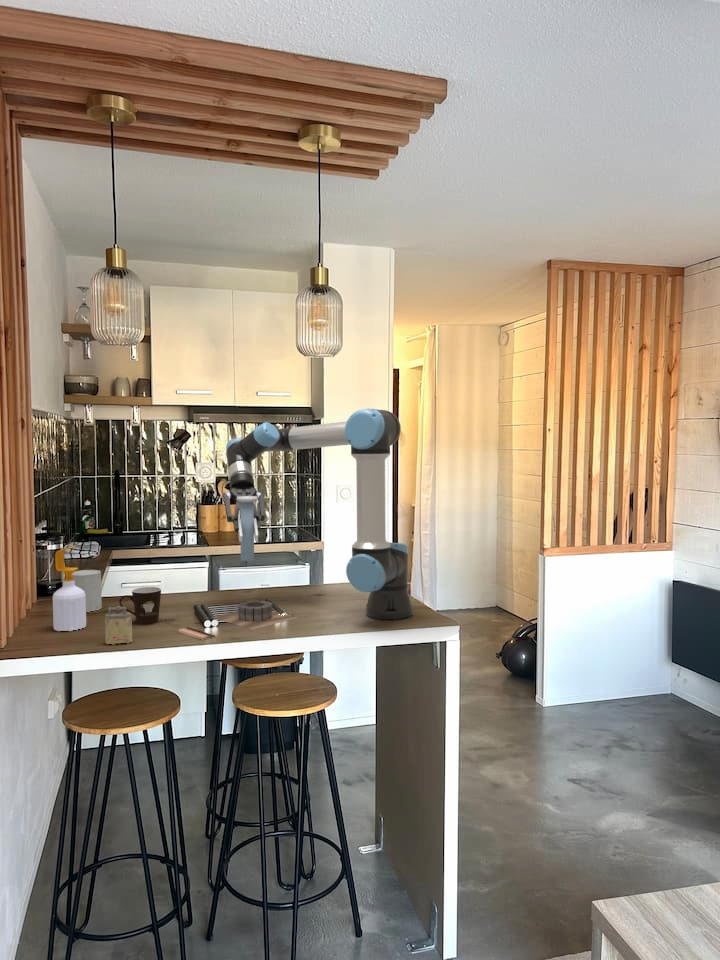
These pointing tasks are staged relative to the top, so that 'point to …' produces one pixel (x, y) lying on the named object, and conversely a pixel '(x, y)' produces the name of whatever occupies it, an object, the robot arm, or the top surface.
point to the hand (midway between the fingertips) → (248, 538)
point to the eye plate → (259, 624)
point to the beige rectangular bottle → (118, 626)
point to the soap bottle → (68, 599)
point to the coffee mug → (145, 604)
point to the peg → (247, 526)
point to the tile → (195, 633)
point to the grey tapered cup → (90, 587)
